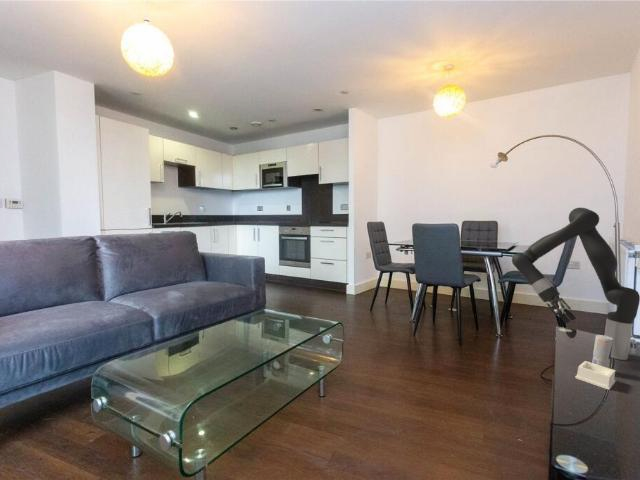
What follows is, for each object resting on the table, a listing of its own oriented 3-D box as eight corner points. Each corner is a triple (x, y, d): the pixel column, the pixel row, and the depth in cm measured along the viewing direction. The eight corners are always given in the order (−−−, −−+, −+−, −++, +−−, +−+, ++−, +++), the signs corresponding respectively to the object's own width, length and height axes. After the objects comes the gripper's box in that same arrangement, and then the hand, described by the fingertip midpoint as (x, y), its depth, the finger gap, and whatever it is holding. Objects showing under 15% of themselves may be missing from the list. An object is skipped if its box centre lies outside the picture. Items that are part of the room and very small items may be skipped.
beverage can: (611, 375, 138) (616, 340, 136) (595, 373, 139) (600, 338, 137) (602, 369, 143) (607, 335, 142) (588, 367, 144) (592, 333, 143)
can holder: (582, 371, 140) (584, 360, 139) (615, 382, 132) (616, 370, 131) (575, 378, 133) (576, 366, 133) (609, 389, 125) (610, 377, 125)
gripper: (546, 286, 149) (574, 319, 141) (557, 284, 158) (584, 314, 150) (532, 295, 154) (558, 327, 146) (543, 292, 163) (568, 322, 155)
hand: (571, 321), depth 148 cm, fingers open, 8 cm apart
